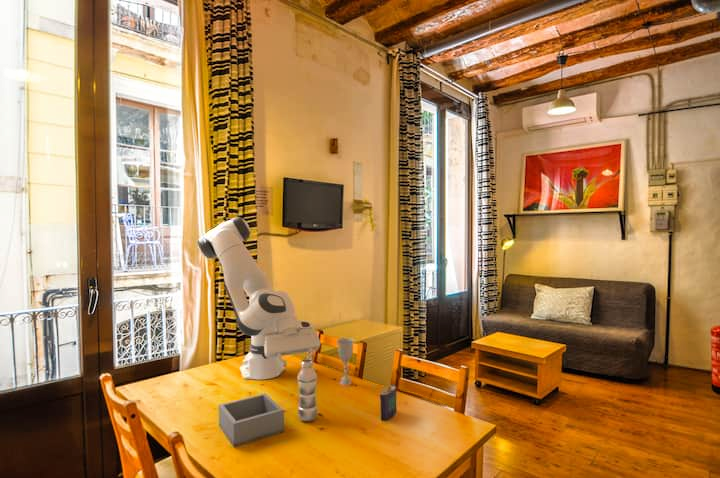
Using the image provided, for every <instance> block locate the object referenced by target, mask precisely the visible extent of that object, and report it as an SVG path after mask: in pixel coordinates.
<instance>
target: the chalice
mask: <svg viewBox="0 0 720 478" xmlns="http://www.w3.org/2000/svg"><path fill="white" fill-rule="evenodd" d="M354 341H355V340H354V338H350V337H343V338H338V339H337V340H336V342H337V350H338V351H337V353H338V355H339V358H340V360H341V362H342V363H343V364H344V365H343V368H344V371H343V373H344V375H343V376H341V379H340V382H339V384H340V385H341V386H350V385H352V384H353V383H352V380H351V378H350V376H348V365H347V363H349V362H350V361H351V360H350V359H351V357H352V355H353V351H354V350H353V348H354V346H353V343H354Z"/></svg>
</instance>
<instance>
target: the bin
mask: <svg viewBox="0 0 720 478" xmlns="http://www.w3.org/2000/svg"><path fill="white" fill-rule="evenodd" d="M218 427H219V428H220V430H221V431H222V432H223V434H224V435H225V437H226V438H227V440H228V441H229V443H230V444H231V445H232V447H233V448H237V447H240V446H243V445H246V444H249V443H252V442H255V441H258V440H261V439H264V438H265V439H266V438H269V437H271V436H274V435H277V434H278V435H279V434H281V433H283V432H285V410H284V408H283V407H281V406H280V405H279V404H278V403H277V402H276V401H274V400H273V399H272V398H271V397H270V396H269V395H267V393H262V394H256V395H254V396H253V395H252V396H250V397H249V396H248V397H245V398H241V399H237V400H231V401H229V402H225V403H221V404H218Z"/></svg>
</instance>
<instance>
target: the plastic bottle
mask: <svg viewBox="0 0 720 478" xmlns="http://www.w3.org/2000/svg"><path fill="white" fill-rule="evenodd" d="M313 362H314V361H313V359H312V360H311V359H306V358H305V359H302V360H301V364H300V367H301V368H300V370H299V372H298V373H297V378H296V379H297V384H298V392H299V401H298V409H297V416H298V418H299V419H300V421H303V422H312V421H314V420H316V418H317V417H318V415H319V413H318V412H319V411H318V406H317V398H316V397H317V395H316V394H317V393H316V392H317V391H316V389H317V387H316V386H317V380H318V379H317V378H318V375H317V373H316V371H315V369H314V368H313V367H314V363H313Z"/></svg>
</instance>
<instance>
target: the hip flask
mask: <svg viewBox="0 0 720 478" xmlns="http://www.w3.org/2000/svg"><path fill="white" fill-rule="evenodd" d="M386 386H387V387H386V389H385V390H383V391H381V392H380V394H379V399H380V402H379V403H380V421H381V422H388V421H389V420H391V419H393V418H394V416H395V415H396V414H397V386H394V385H390V384H386Z"/></svg>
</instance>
